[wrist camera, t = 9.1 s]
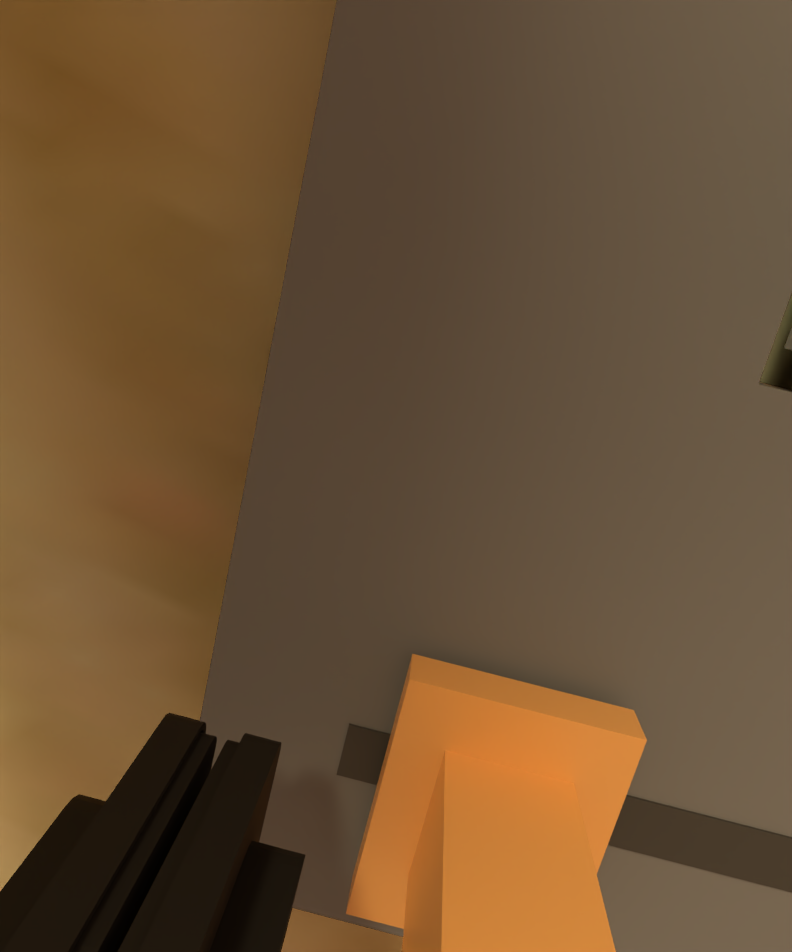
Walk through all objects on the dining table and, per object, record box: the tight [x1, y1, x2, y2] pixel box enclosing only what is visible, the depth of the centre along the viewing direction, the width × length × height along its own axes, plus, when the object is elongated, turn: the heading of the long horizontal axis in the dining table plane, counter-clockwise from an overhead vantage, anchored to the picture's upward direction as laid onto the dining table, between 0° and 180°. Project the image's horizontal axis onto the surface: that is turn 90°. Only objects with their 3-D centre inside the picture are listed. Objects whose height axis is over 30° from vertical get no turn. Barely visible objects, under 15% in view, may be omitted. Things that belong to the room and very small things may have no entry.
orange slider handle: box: [346, 654, 647, 952], centre depth 9 cm, size 4×4×5 cm
